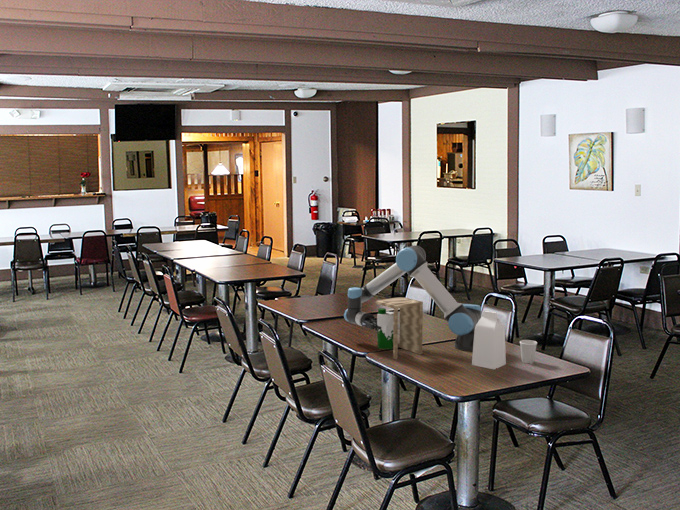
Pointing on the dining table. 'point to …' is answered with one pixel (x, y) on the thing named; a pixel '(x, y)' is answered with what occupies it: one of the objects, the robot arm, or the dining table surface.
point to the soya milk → (384, 337)
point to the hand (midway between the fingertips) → (393, 327)
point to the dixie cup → (528, 350)
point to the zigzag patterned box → (406, 323)
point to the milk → (489, 342)
